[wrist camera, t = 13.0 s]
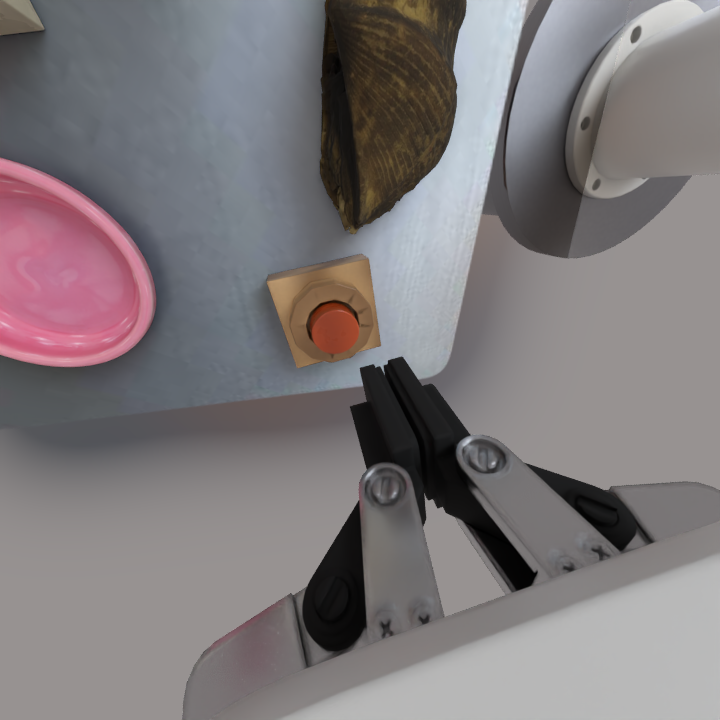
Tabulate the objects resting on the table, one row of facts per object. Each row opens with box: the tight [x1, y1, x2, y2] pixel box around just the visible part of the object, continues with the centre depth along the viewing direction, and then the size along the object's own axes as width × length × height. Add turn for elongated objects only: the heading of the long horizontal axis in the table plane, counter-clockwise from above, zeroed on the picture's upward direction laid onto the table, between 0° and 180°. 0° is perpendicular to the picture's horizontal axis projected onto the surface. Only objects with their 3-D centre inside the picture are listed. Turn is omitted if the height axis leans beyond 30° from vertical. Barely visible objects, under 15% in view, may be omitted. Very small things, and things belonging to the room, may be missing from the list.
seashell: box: [320, 0, 467, 234], centre depth 16 cm, size 16×9×7 cm, turn 175°
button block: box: [267, 254, 381, 368], centre depth 23 cm, size 8×8×4 cm
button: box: [310, 303, 359, 354], centre depth 21 cm, size 4×4×2 cm
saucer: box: [0, 158, 156, 367], centre depth 18 cm, size 12×12×3 cm
